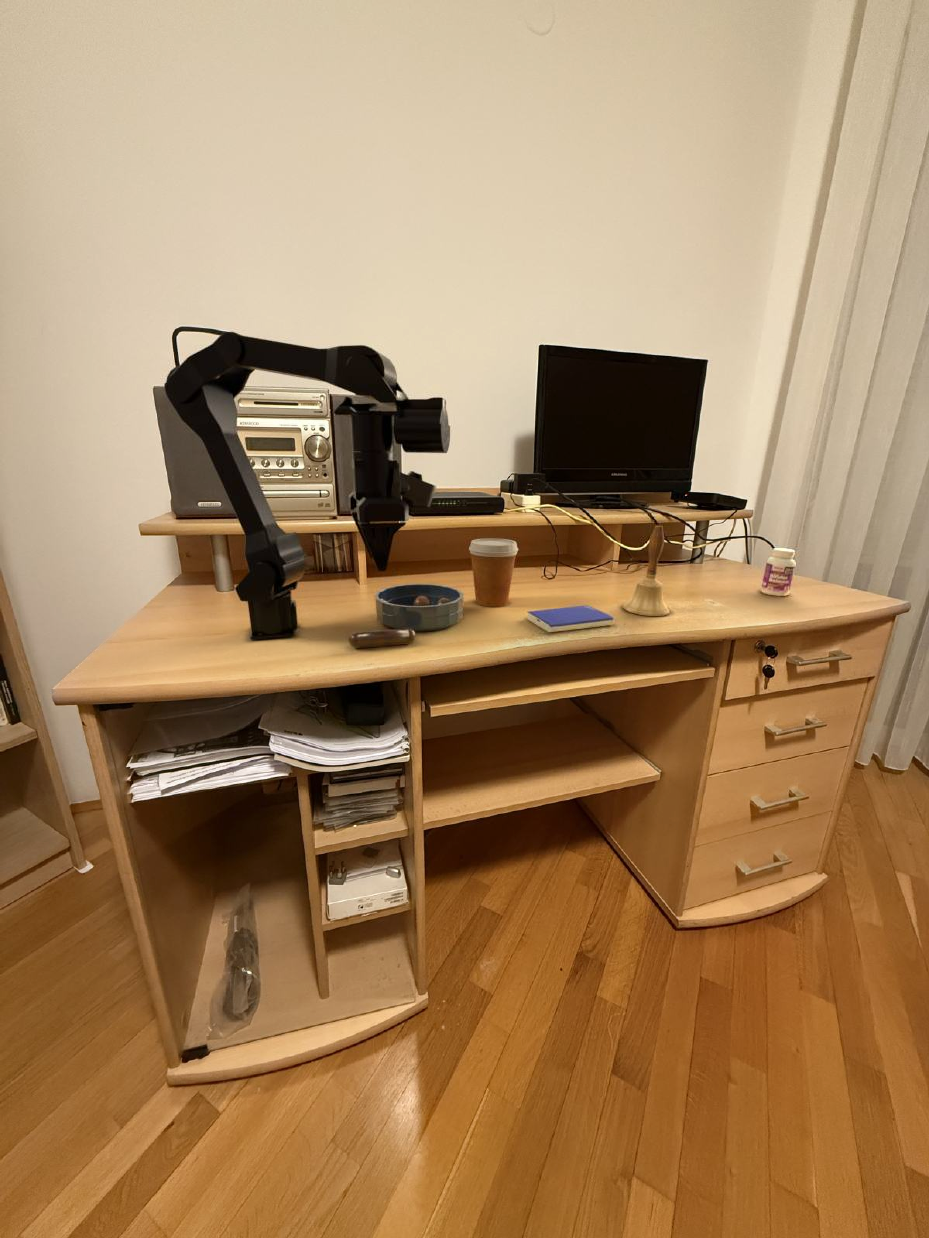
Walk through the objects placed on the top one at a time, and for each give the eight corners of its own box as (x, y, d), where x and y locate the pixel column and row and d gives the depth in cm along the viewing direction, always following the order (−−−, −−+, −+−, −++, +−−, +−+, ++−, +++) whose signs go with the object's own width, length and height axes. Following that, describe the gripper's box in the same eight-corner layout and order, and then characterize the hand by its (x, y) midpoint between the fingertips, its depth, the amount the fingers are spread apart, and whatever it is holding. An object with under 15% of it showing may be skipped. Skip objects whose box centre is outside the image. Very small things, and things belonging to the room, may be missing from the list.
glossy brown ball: (434, 608, 88) (422, 619, 87) (422, 599, 89) (410, 610, 88) (433, 598, 85) (421, 609, 84) (421, 589, 86) (409, 600, 85)
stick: (349, 646, 70) (348, 630, 71) (349, 650, 73) (347, 635, 73) (417, 640, 73) (415, 625, 74) (415, 644, 75) (413, 629, 76)
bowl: (382, 637, 77) (381, 610, 76) (371, 609, 91) (370, 586, 89) (474, 629, 81) (474, 603, 80) (450, 604, 95) (450, 581, 94)
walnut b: (454, 609, 87) (449, 620, 85) (437, 605, 88) (433, 616, 86) (456, 597, 85) (451, 608, 83) (439, 592, 86) (434, 603, 83)
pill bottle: (766, 595, 105) (775, 551, 102) (756, 589, 110) (765, 546, 107) (793, 597, 104) (803, 552, 101) (782, 590, 109) (792, 548, 106)
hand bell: (665, 605, 96) (678, 524, 91) (672, 618, 89) (685, 529, 84) (622, 602, 98) (631, 522, 93) (624, 614, 91) (635, 527, 86)
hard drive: (586, 604, 91) (527, 610, 87) (613, 616, 84) (550, 624, 80) (585, 612, 91) (526, 618, 87) (612, 625, 84) (549, 633, 80)
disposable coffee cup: (513, 610, 92) (516, 547, 88) (463, 607, 93) (464, 544, 90) (518, 597, 100) (521, 539, 97) (472, 594, 102) (473, 537, 98)
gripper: (447, 453, 61) (447, 575, 66) (417, 453, 78) (418, 551, 83) (356, 451, 58) (362, 580, 63) (345, 452, 75) (351, 553, 80)
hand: (377, 564), depth 72 cm, fingers open, 9 cm apart
